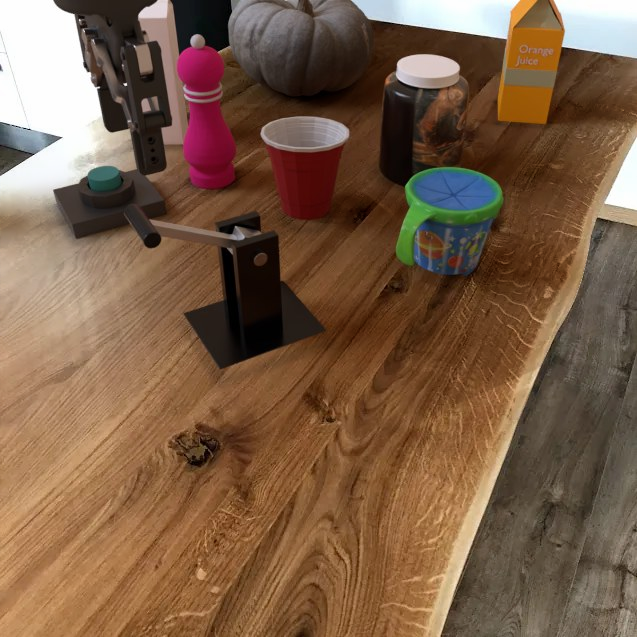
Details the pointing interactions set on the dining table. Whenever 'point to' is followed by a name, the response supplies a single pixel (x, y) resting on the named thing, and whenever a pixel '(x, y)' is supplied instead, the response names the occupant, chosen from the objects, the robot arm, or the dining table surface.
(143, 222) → the lever
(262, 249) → the bracket
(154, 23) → the milk
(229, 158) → the pepper mill
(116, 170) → the button
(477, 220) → the snack cup
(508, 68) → the orange juice
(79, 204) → the control block
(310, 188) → the plastic cup
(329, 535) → the dining table surface
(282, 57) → the gourd
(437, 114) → the jar
